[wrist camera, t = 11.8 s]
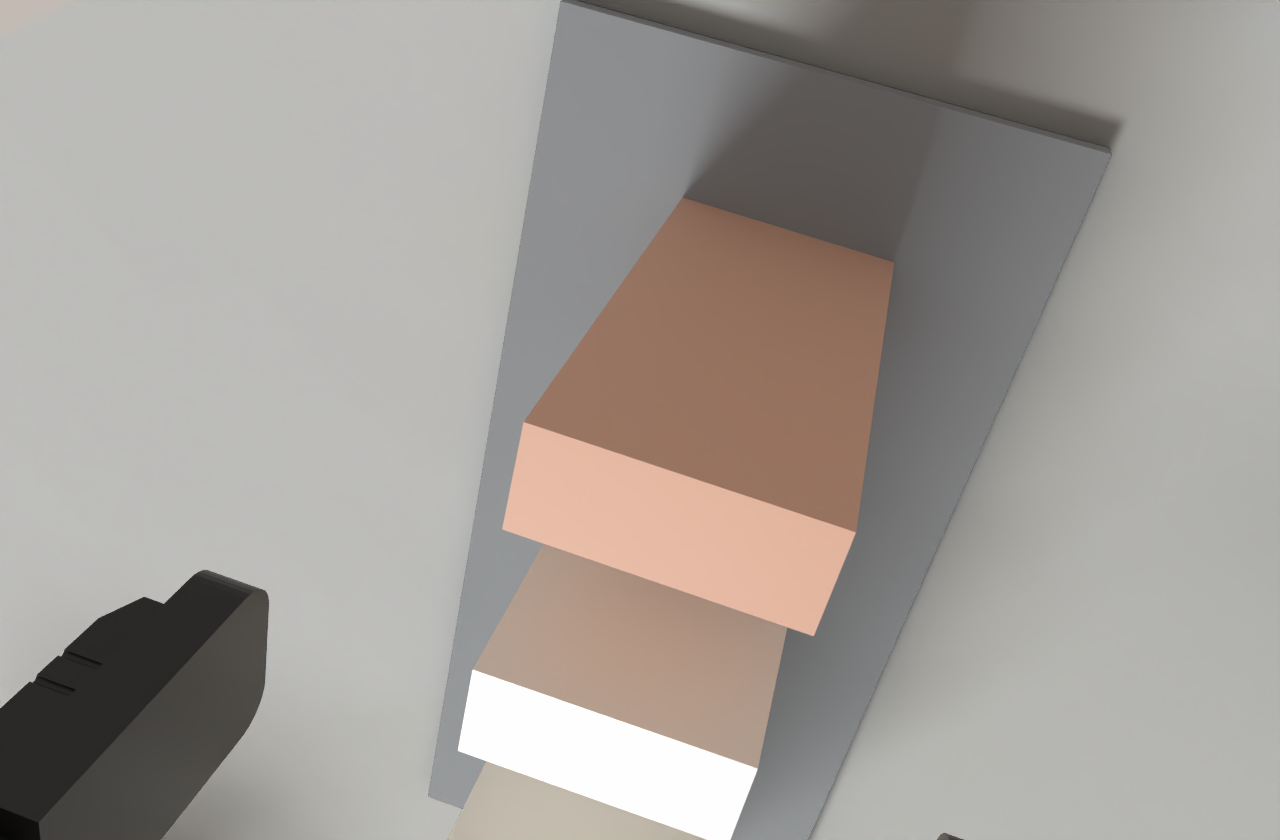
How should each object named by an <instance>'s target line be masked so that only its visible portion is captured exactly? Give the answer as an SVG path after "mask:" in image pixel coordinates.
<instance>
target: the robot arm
mask: <svg viewBox="0 0 1280 840" xmlns="http://www.w3.org/2000/svg"><path fill="white" fill-rule="evenodd" d="M268 612H269V599H268V595H267V592H266V591H265V590H262V589H259V588H256V587H254V586H251V585H248V584H245V583H242V582H239V581H237V580H234V579H231V578H228V577H225V576H222V575H220V574H217V573H214V572H211V571H208V570H203V571H200V572H198V573H196V574H195V575H194V576H192V577H191V578H190V579H189V580H188V581H187V582H186V583H185V584H184V585H183V586H182V587H181V588H180V589H179V590H178V591H177V592H176V593H175V594H174V595H173V596H172V597H171V598H170V599H169V600H168V601H167V602H166V603H164V604H163V603H160V602H157V601H154V600H151V599H149V598H146V597H143V598H141V599H139V600H136V601H134V602H132V603H130V604H128V605H126V606H124V607H122V608H119V609H117V610H115V611H113V612H111V613H109V614H107V615H105V616H102V617H100V618H98V619H97V620H96V621H95V622H94V623H93V624H92V625H91V626H90V627H89V628H87V629H86V630H85V631H84V632H83V633H82V634H81V635H80V636H79V637H78V638H77V639H75V640H74V641H73V642H72V643H71V644H70V645H69V646H68V647H67V648H66V649H65V650H64V653H63V655H62V656H61V657H60V656H57V657H56V658H55V659H54V660H53V661H52V662H50V663H49V664H48V665H47V666H46V667H45V668H44V669H43V670H42V671H41V672H40V673H38V674H37V677H36V679H35V681H34V682H33V683H32V682H29V683H28V684H27V685H25V686H24V687H23V688H22V689H21V690H20V691H19V692H18V693H17V694H16V695H15V696H13V697H12V698H11V699H10V700H9V701H8V702H7V703H6V704H5V705H4V706H3V707H1V708H0V840H161V839H162V837H163V836H164V835H165V834H166V832H167V831H168V830H169V828H170V827H171V826H172V825H173V823H174V822H175V821H176V820H177V818H178V817H179V816H180V815H181V813H182V812H183V811H184V810H185V808H186V807H187V806H188V804H189V803H190V802H191V801H192V799H193V798H194V797H195V796H196V794H197V793H198V792H199V791H200V789H201V788H202V787H203V786H204V784H205V783H206V782H207V780H208V779H209V778H210V777H211V775H212V774H213V773H214V772H215V770H216V769H217V768H218V767H219V765H220V764H221V763H222V761H223V760H224V759H225V758H226V756H227V755H228V754H229V753H230V751H231V750H232V749H233V748H234V746H235V745H236V744H237V743H238V741H239V740H240V739H241V737H242V736H243V735H244V733H245V732H246V730H247V729H248V727H249V725H250V724H251V722H252V720H253V718H254V716H255V714H256V711H257V709H258V707H259V704H260V701H261V698H262V694H263V690H264V685H265V670H266V651H267V631H268ZM937 840H963V839H960V838H957V837H955V836H952V835H949V834H946V833H943V834H941V835H940V836H939V837H938V839H937Z"/></svg>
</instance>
